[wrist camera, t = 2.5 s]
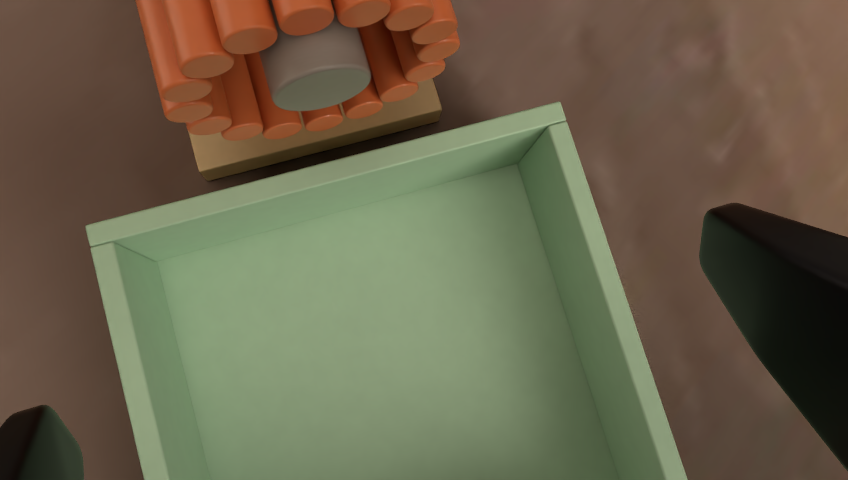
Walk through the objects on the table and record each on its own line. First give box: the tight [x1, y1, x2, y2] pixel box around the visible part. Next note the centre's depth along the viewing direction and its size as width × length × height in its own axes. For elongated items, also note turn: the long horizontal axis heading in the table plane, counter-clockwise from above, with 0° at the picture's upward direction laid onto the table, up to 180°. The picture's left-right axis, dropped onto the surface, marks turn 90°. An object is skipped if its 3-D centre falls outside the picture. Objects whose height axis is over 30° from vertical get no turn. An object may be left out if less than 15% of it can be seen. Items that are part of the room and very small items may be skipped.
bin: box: [86, 102, 687, 480], centre depth 20 cm, size 13×13×4 cm
